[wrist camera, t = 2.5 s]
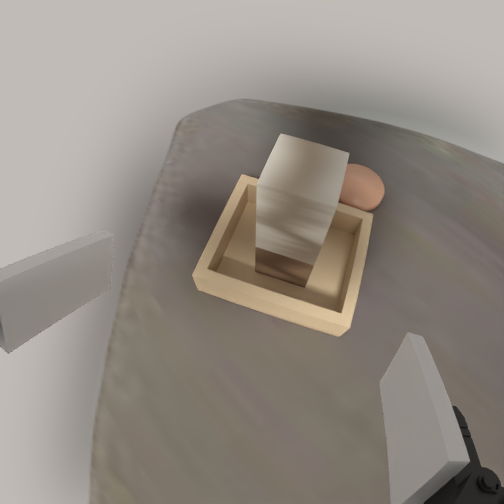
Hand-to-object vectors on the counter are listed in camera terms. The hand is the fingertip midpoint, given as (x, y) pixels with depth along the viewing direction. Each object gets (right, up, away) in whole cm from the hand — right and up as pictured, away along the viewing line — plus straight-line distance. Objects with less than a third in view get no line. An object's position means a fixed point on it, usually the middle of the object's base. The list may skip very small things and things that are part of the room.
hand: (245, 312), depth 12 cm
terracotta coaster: (+13, +10, +23) cm, 28 cm away
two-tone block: (+4, +2, +19) cm, 19 cm away
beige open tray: (+4, +2, +19) cm, 19 cm away
